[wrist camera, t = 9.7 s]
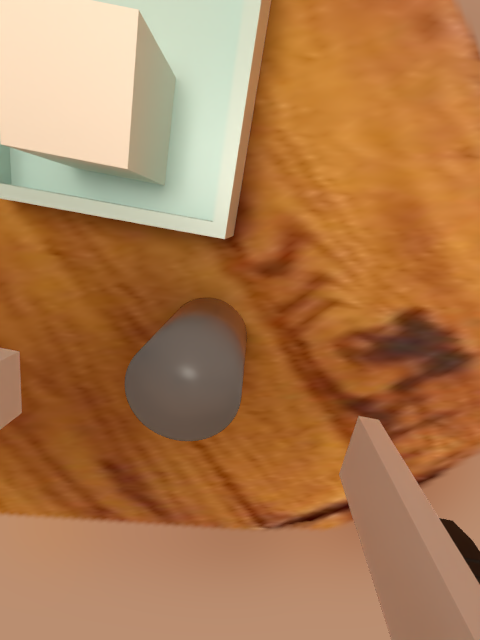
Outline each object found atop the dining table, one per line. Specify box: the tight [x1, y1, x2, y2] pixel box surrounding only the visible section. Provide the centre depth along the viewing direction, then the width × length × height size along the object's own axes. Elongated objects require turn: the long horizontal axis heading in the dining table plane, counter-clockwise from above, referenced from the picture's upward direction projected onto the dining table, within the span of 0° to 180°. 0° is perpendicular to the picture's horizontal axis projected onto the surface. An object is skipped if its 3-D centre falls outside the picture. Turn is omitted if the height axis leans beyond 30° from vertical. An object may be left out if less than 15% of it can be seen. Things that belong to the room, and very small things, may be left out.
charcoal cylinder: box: [125, 298, 247, 441], centre depth 16 cm, size 5×5×7 cm
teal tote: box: [0, 0, 271, 239], centre depth 13 cm, size 13×17×5 cm
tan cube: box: [0, 0, 176, 186], centre depth 14 cm, size 5×5×5 cm
